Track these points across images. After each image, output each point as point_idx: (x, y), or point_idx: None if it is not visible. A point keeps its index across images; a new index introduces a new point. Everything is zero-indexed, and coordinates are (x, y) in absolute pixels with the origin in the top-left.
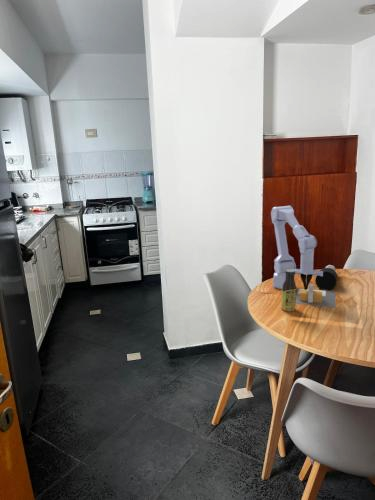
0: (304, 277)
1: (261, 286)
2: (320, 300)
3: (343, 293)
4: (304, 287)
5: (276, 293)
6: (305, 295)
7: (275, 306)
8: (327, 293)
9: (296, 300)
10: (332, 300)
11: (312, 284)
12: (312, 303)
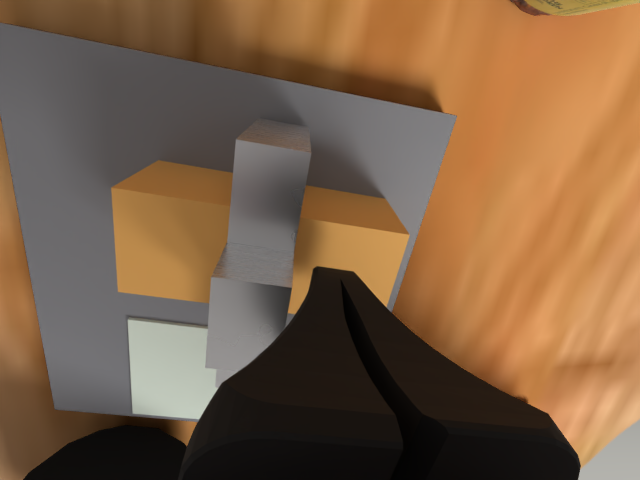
0: (463, 422)
1: (580, 459)
2: (164, 168)
3: (10, 409)
4: (362, 283)
5: (517, 369)
6: (335, 211)
7: (633, 96)
8: (116, 373)
9: (415, 200)
10: (51, 227)
11: (226, 358)
12: None
